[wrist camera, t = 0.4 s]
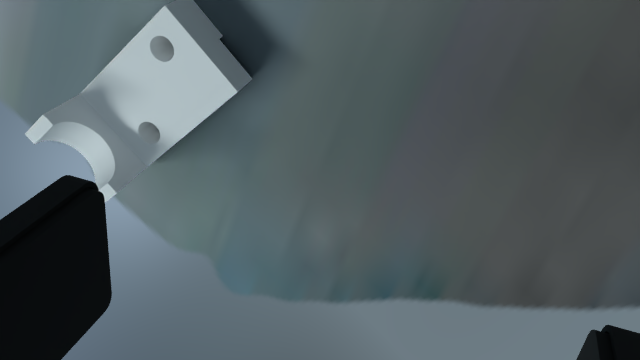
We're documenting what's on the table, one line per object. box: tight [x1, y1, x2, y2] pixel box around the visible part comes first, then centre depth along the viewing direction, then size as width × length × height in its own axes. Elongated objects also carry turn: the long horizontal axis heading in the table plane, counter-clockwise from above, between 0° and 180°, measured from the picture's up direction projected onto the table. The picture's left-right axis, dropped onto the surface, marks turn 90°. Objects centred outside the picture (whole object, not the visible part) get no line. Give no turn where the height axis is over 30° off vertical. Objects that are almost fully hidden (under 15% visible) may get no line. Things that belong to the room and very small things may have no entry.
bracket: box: [25, 0, 252, 203], centre depth 42 cm, size 13×7×8 cm, turn 131°
